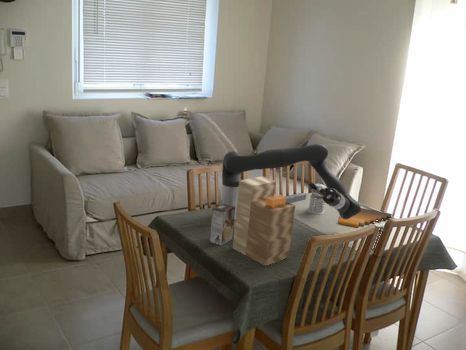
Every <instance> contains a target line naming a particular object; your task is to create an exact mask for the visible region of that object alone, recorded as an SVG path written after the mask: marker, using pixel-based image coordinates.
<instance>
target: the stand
mask: <svg viewBox="0 0 466 350" xmlns="http://www.w3.org/2000/svg"><path fill="white" fill-rule="evenodd" d="M276 185H277V181H276V180H274V179H272V178H268V177H266V176H263V175H262V176H256V177H251V178H246V179H241V180H240V181H239V190H238V200H237V210H236V219H235V220H234V229H233V239H232V240H233V241H232V249H233V250H235V251H237V252H239V253H240V252H241V255H245V256H246V257H248V258H249V257H250V258H249V259H251V258H252V259H251V260H253V259H254V260H253V261H255V260H256V261H255V262H257V261H258V262H260V263H262V264H263V265H262V264H261V265H262V266H264V265H265V266H264V267H267V266H266V265H268V266H270V265H269V264H271V265H273V264H272V263H274V264H276V263H278V262H277V261H279V262H281V261H280V260H282V261H284V260H283V259H285V258H287V259H289V255H290V248H291V240H292V231H293V226H294V218H295V212H296V211H295V210H296V205H295V204H293V203H290V204H286V205H285V206H281V207H278V208H274V209H271V208H269V207H266V198H268V197H272V196H274V195H275V194H276ZM285 260H286V259H285ZM258 262H257V263H258ZM275 262H276V263H275ZM260 263H259V264H260Z"/></svg>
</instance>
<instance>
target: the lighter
mask: <svg viewBox="0 0 466 350" xmlns="http://www.w3.org/2000/svg"><path fill="white" fill-rule="evenodd" d="M378 227H379V228H380V230H379V233H378V236H377V239H376V242H375V245H374V248H373V249H376V248H375V246H376V244H377V241H378V239H379V236H380V234H381V232H382V230H384V229H383V227H384V228H385V226H384V225H381V226H378Z"/></svg>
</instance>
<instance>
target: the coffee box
mask: <svg viewBox="0 0 466 350" xmlns="http://www.w3.org/2000/svg"><path fill="white" fill-rule="evenodd" d="M211 212H212V215H211V225H210V238H209V240H210V241H211V242H210V241H209V242H210V243H213V244H215V243H216V244H215V245H218V244H219V246H221V245H222V246H223V245H225V244H226V243H229V242H230V241H232V240H233V238H234V227H235V220H234V215H235V207H234V206H231V205H227V204H221V205H219V204H218V205H217V206H215V207H213V208H212V211H211Z"/></svg>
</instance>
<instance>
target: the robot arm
mask: <svg viewBox="0 0 466 350" xmlns="http://www.w3.org/2000/svg"><path fill="white" fill-rule="evenodd" d="M328 155H329V150H328V148H327V147H326V146H325V145H324V144H321V143H315V144H309V145H305V146H299V147H285V148H274V149H267V150H264V151H261V152H259V153H257V154H252V155H241V154H240V153H238V152H237V151H229V152H227V153H226V154H225V155H224V157H223V160H222V171H221V172H222V174H221V175H222V176H221V177H222V179H221V180H222V183H221V194H220V195H221V196H220V198H219V201H218V203H219V204H218V206H219V205H221V204H227V205H231V206H234V207H235V215H234V221H235V220H236V210H237V200H238V190H239V181H240V180H242V173H244V172H249V171H254V170H265V169H266V170H267V169H280V168H286V167H288V166H292V165H295V164H297V163H300V162H308V163H309V165H310V166H311V167H312V168H313V169H314V170H315V172H316V173H317V174H318V176H319V177H320V178H321V180H322V181H323V182H324V184H325V186H326V187H327V188H323V187H321V186H317V185H315V184H316V183H314V182H311V181H310V182H309V183H308V187H309V190H311V191H312V192H315V193H317V194H319V195H321V196H322V197H323V202H324V204H327V205H328V206H329V207H331V208H332V209H334V210H336V211H337V212H338V214H339V216H341V217H342V218H343V219H349V218H351V217H353V216H354V215H356V214H358V213H359V212H360V211H361V208H362V207H361V205H360V203H359V202H358V201H357V200H355V198H353V197H352V196H351V195H350V193H349V192H348V191H347V189H346V187H345V186H344V184H343V182H342V181H341V180H340V178H339V177H338V176H336V175H335V174H334V173H333V171H332V170H330V168H329V165H327V162H326V159H327V158H328ZM320 188H322V189H321V190H319V189H320Z"/></svg>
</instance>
